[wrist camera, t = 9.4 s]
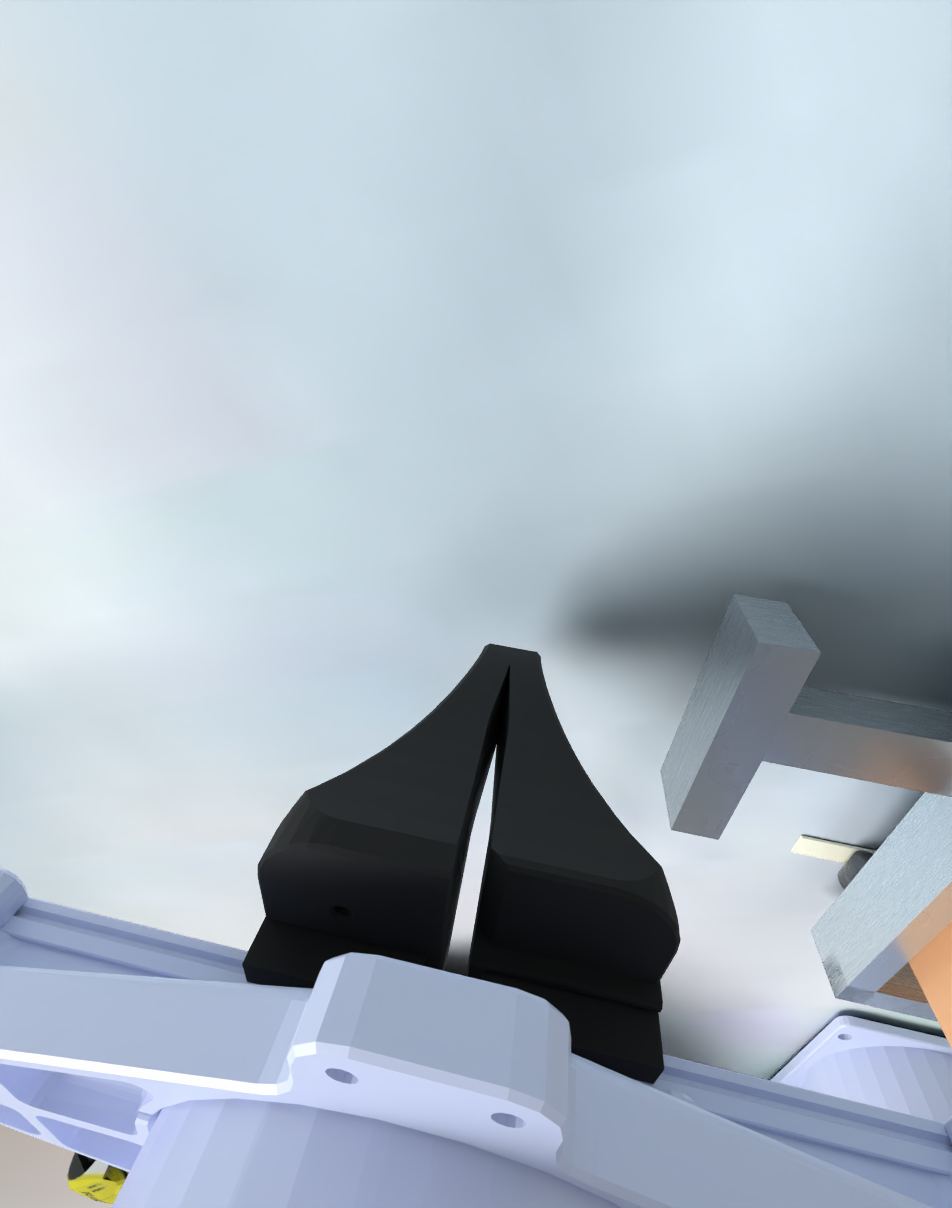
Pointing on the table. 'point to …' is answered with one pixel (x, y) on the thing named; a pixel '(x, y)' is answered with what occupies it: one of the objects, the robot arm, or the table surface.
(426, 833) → the robot arm
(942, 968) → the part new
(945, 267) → the table surface
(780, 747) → the beam with t-bracket
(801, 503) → the table surface
